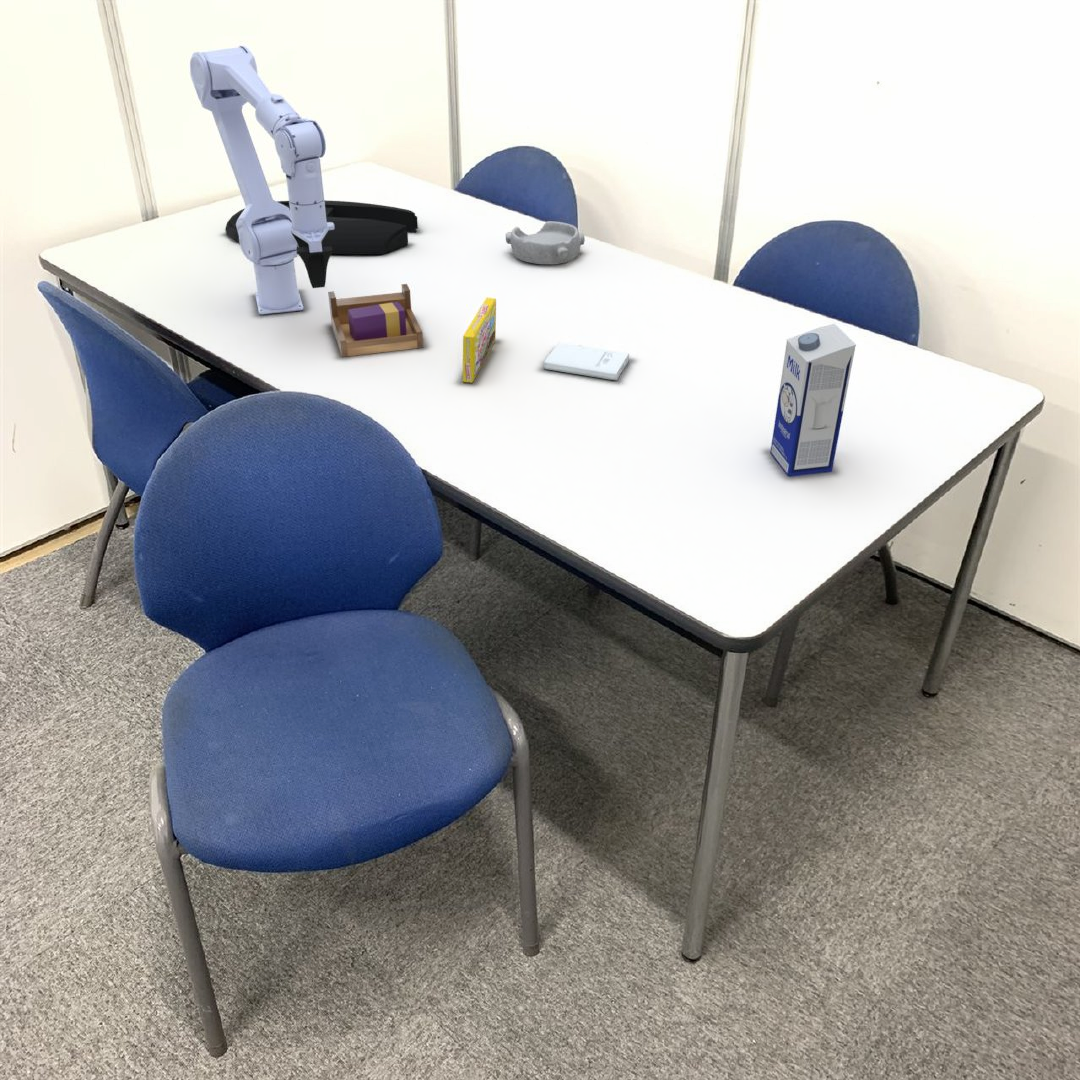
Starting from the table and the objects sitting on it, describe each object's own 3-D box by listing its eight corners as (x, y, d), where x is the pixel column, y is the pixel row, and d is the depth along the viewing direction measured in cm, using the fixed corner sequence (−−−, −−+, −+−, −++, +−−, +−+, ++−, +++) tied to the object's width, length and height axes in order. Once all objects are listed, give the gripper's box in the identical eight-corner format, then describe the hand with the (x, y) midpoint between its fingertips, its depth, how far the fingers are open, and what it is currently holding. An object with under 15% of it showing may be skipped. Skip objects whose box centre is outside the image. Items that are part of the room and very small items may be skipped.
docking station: (249, 208, 247) (246, 186, 244) (426, 219, 243) (425, 196, 240) (207, 248, 227) (203, 224, 224) (399, 260, 222) (397, 236, 219)
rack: (331, 326, 196) (327, 291, 192) (409, 317, 199) (406, 283, 196) (341, 357, 186) (338, 321, 182) (423, 347, 189) (421, 312, 186)
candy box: (474, 384, 178) (473, 337, 174) (462, 382, 179) (460, 335, 174) (497, 342, 191) (496, 297, 187) (485, 341, 192) (484, 296, 187)
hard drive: (559, 350, 189) (629, 360, 186) (543, 370, 183) (616, 381, 179) (559, 341, 188) (629, 351, 185) (543, 361, 182) (616, 372, 178)
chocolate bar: (349, 333, 190) (347, 309, 188) (400, 325, 193) (398, 301, 190) (356, 343, 187) (353, 318, 184) (406, 334, 190) (405, 310, 187)
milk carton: (832, 472, 157) (856, 343, 145) (788, 477, 156) (809, 347, 144) (812, 447, 163) (834, 321, 151) (769, 452, 161) (788, 325, 150)
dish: (498, 256, 225) (497, 232, 222) (542, 238, 233) (542, 214, 230) (552, 273, 217) (552, 249, 214) (595, 254, 226) (596, 230, 223)
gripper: (337, 211, 176) (345, 292, 184) (325, 184, 187) (333, 261, 195) (292, 215, 174) (302, 296, 182) (283, 187, 186) (293, 265, 193)
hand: (315, 278), depth 188 cm, fingers open, 7 cm apart
